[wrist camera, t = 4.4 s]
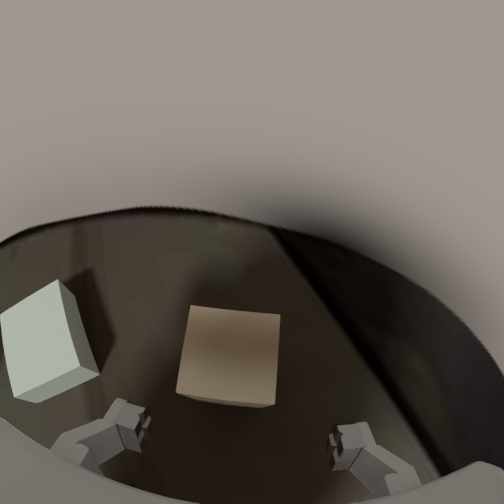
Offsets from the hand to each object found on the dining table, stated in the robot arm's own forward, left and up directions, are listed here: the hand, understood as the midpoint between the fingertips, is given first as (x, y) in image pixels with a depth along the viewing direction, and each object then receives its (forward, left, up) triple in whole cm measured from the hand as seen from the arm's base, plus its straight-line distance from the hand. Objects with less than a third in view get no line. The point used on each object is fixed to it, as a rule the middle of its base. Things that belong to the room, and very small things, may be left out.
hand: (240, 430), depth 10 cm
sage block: (-15, +13, -11) cm, 22 cm away
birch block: (+1, +4, -11) cm, 11 cm away
